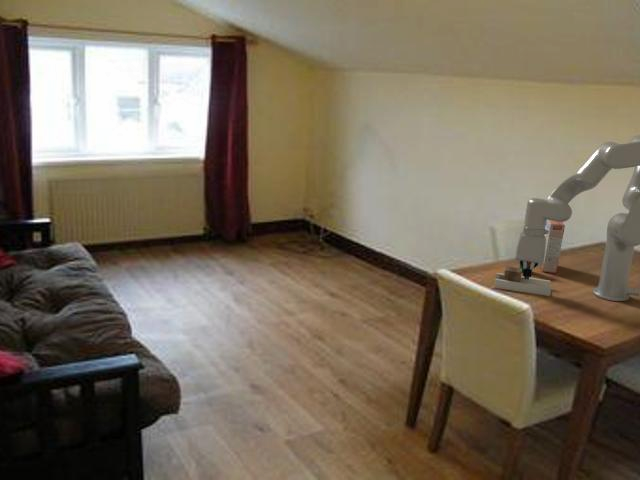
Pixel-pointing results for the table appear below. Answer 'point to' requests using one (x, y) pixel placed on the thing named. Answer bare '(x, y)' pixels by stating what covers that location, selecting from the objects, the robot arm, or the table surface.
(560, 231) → the cracker box
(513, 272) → the walnut block
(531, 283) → the chute
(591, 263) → the table surface
